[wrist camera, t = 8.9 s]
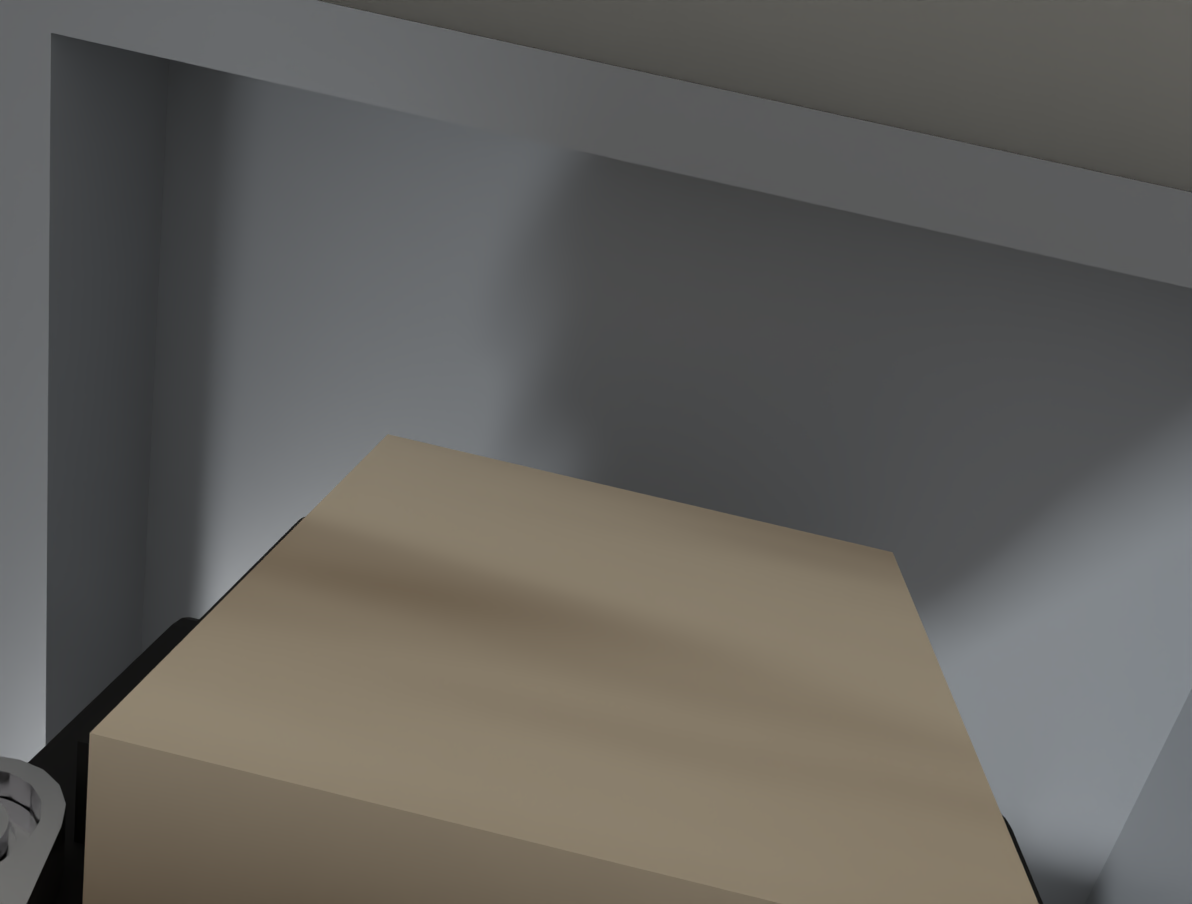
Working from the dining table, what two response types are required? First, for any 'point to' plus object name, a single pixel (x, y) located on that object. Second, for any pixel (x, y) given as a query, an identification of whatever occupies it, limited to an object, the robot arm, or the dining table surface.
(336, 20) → the tray
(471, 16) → the dining table surface
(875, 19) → the dining table surface
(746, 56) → the dining table surface
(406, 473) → the letter block
